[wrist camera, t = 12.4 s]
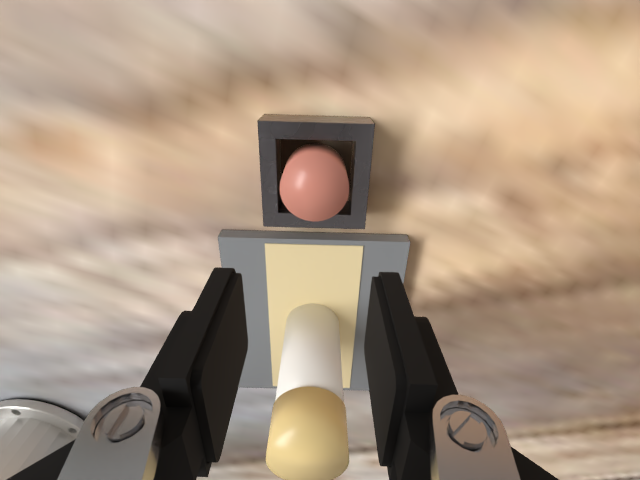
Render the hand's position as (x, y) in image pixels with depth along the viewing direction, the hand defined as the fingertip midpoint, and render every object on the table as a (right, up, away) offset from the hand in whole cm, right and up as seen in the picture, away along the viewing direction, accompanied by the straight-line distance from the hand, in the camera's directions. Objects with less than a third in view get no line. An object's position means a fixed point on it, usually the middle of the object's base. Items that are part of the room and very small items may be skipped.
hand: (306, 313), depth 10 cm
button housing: (0, +7, +13) cm, 15 cm away
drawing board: (0, -4, +20) cm, 20 cm away
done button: (0, +7, +12) cm, 14 cm away
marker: (0, -5, +18) cm, 19 cm away
